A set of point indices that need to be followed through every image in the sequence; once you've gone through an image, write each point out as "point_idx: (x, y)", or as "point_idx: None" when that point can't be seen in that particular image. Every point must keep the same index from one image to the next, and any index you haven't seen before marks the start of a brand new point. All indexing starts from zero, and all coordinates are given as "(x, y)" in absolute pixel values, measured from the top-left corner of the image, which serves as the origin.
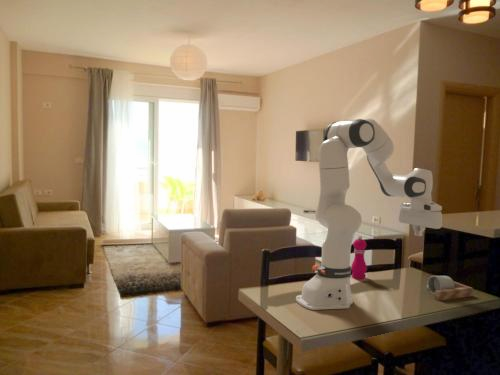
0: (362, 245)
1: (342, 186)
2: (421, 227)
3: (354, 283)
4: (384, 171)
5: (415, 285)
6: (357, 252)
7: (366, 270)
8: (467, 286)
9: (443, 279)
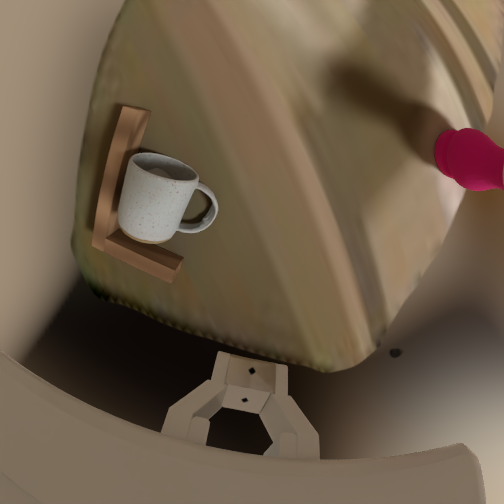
0: None
1: None
2: (178, 425)
3: (430, 74)
4: None
5: (266, 206)
6: None
7: (448, 160)
8: (104, 248)
9: (126, 185)
